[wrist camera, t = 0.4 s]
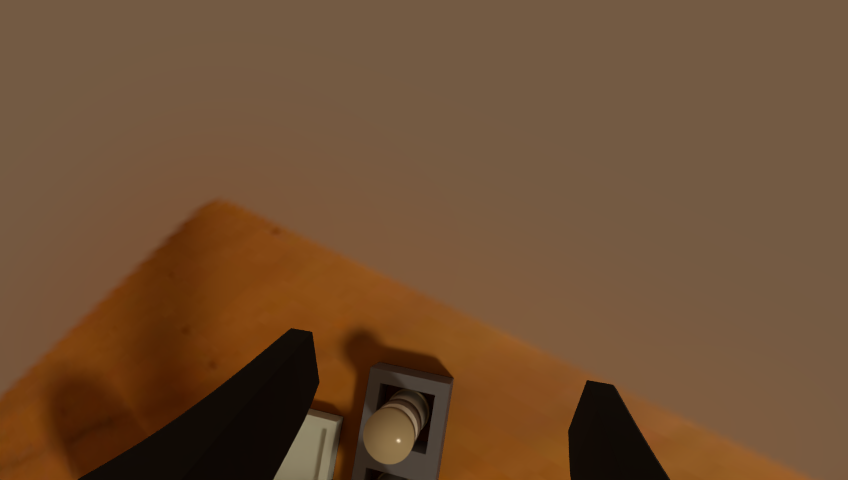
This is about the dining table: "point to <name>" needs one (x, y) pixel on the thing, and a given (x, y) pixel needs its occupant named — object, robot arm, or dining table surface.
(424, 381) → the block
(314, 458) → the parts tray
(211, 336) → the dining table surface
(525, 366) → the dining table surface
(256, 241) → the dining table surface
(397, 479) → the cylinder
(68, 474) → the dining table surface
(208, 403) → the robot arm
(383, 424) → the fuse
